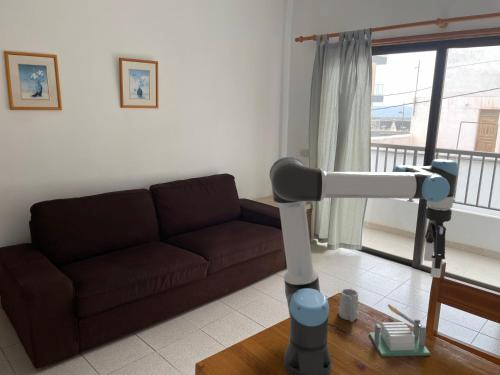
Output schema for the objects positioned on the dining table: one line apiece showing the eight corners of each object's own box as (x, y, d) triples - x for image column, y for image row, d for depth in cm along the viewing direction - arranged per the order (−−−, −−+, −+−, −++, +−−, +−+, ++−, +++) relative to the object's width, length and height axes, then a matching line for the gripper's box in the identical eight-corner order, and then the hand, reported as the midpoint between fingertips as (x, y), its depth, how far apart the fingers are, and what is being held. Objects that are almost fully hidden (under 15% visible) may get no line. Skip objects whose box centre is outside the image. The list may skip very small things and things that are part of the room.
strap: (390, 311, 127) (393, 307, 127) (386, 306, 131) (389, 303, 130) (422, 332, 130) (425, 329, 129) (418, 327, 133) (420, 323, 132)
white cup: (355, 310, 154) (357, 282, 151) (363, 327, 142) (365, 297, 140) (336, 310, 154) (337, 282, 152) (342, 327, 143) (344, 297, 140)
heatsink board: (381, 356, 126) (383, 334, 124) (369, 334, 138) (370, 314, 136) (429, 355, 126) (431, 333, 125) (413, 333, 138) (415, 313, 136)
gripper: (461, 219, 112) (452, 286, 116) (443, 199, 135) (436, 255, 140) (433, 216, 114) (425, 282, 118) (420, 197, 137) (414, 253, 142)
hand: (431, 268), depth 129 cm, fingers open, 13 cm apart
